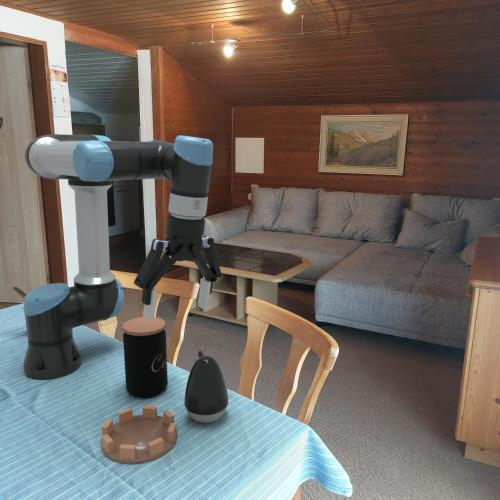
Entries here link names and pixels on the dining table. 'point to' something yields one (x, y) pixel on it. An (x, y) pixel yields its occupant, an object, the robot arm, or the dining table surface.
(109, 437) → the castellated collar
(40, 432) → the dining table surface
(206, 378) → the pump dispenser
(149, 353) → the coffee jar
